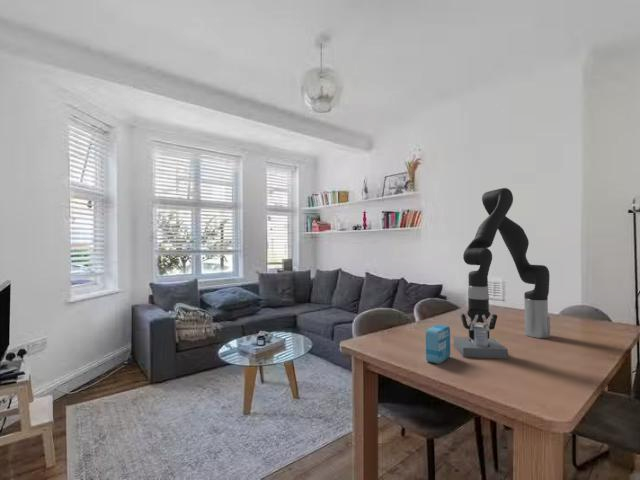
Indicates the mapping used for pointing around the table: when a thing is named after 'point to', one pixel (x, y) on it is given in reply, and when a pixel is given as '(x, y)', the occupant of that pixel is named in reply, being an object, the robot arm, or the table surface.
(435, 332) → the blue printed box
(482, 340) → the medicine box
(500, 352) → the grey slotted block
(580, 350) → the table surface
